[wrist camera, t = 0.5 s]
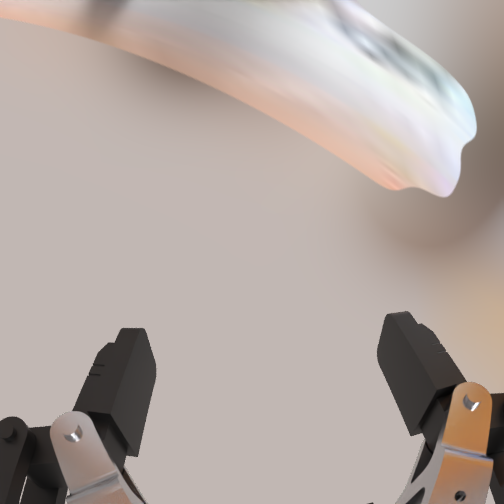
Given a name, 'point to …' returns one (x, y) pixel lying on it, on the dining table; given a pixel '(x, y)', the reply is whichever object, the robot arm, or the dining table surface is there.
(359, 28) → the dining table surface
